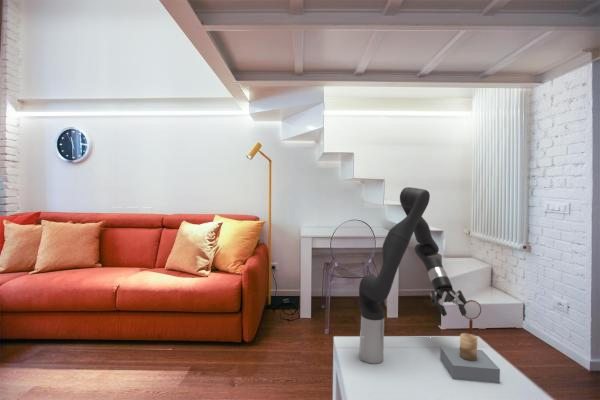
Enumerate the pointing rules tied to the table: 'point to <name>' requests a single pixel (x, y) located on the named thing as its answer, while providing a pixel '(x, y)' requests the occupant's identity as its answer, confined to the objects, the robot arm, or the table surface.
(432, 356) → the table surface
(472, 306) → the magnifying glass
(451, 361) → the board
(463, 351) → the peg
